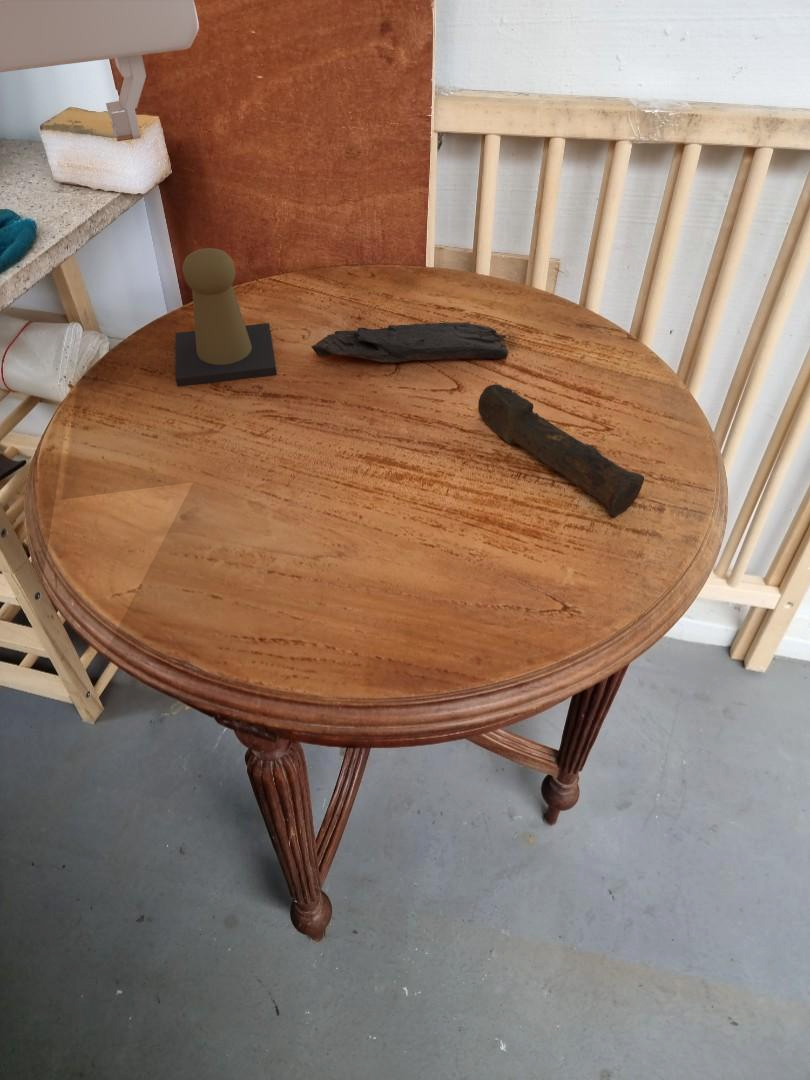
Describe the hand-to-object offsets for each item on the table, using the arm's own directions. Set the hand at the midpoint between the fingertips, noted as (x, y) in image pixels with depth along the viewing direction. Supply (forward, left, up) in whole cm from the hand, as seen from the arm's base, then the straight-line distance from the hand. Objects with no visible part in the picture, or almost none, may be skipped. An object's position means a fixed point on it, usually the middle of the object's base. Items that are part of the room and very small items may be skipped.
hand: (49, 148), depth 47 cm
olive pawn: (+6, +24, -30) cm, 39 cm away
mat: (+6, +23, -31) cm, 39 cm away
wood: (+27, +21, -31) cm, 46 cm away
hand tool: (+36, -1, -31) cm, 47 cm away
